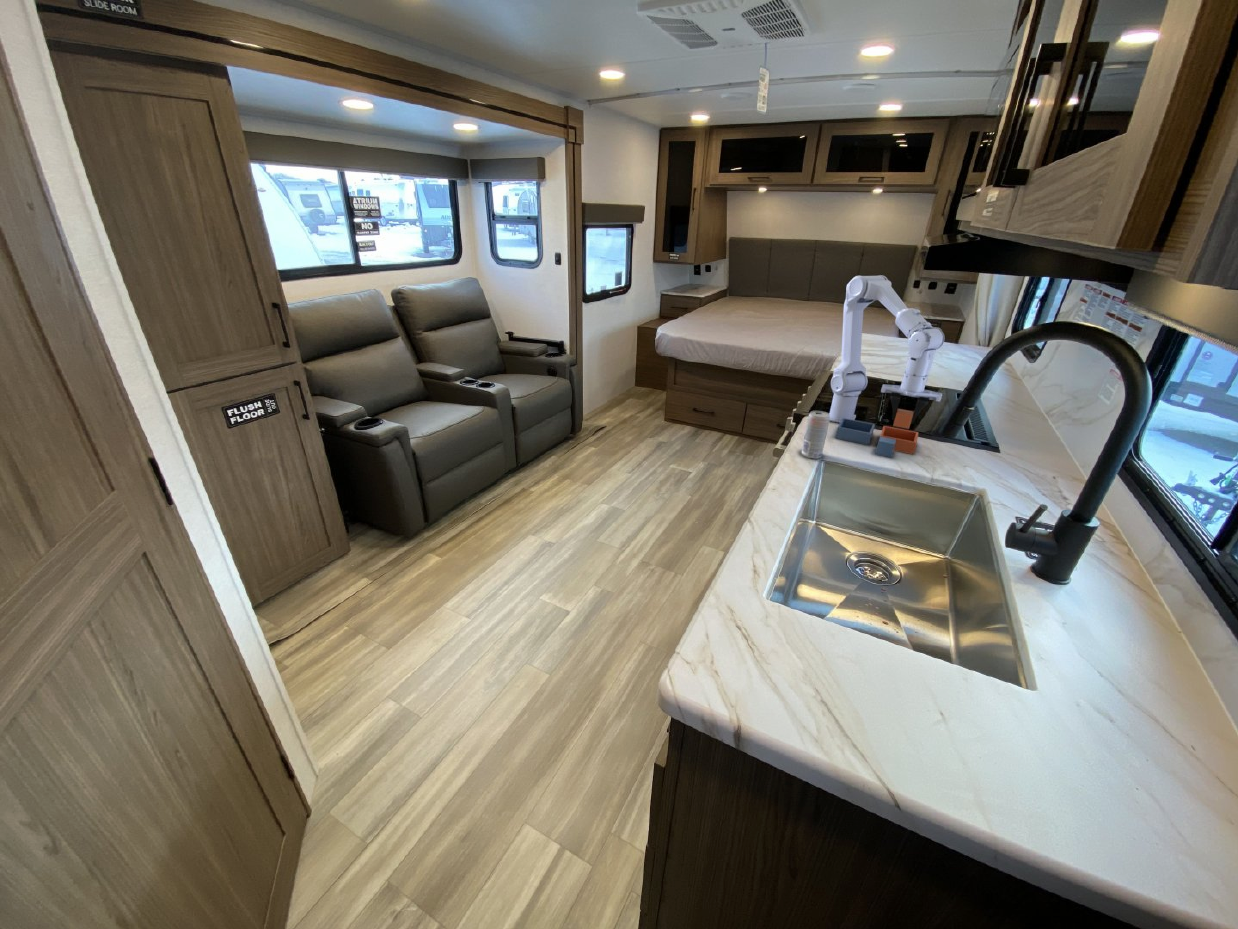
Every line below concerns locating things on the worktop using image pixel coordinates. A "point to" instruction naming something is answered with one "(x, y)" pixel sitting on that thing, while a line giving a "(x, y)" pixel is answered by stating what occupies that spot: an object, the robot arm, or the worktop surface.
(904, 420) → the rust block
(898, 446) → the rust bin
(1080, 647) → the worktop surface
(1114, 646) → the worktop surface
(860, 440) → the slate bin
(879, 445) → the slate block
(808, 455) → the energy drink
